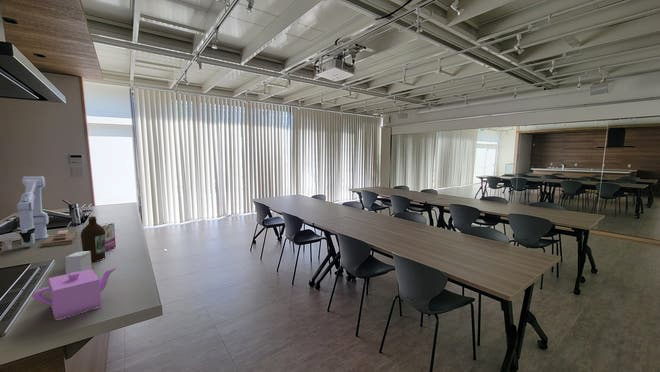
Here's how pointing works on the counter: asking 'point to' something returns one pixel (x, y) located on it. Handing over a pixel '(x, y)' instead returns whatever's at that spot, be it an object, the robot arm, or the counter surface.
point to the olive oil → (94, 239)
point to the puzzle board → (60, 238)
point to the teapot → (73, 292)
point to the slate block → (32, 240)
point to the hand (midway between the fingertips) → (28, 241)
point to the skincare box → (78, 262)
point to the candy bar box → (109, 235)
